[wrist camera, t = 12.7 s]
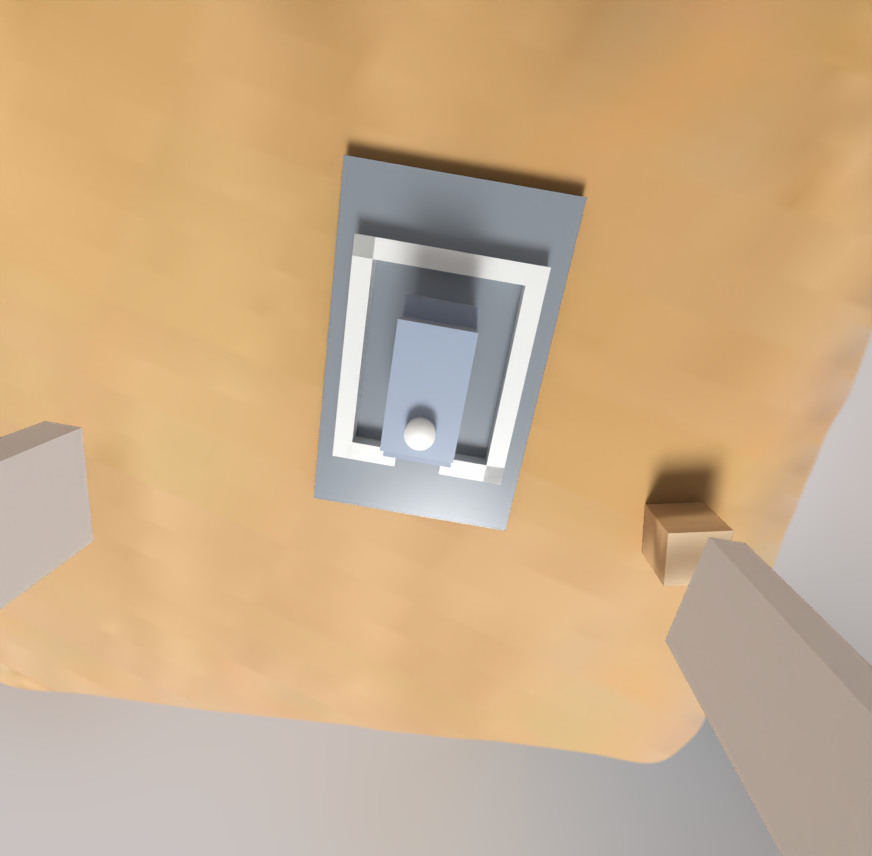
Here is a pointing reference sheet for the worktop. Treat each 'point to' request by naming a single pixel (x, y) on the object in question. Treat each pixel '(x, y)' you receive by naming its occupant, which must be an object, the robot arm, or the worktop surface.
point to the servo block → (429, 379)
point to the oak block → (679, 538)
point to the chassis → (451, 281)
